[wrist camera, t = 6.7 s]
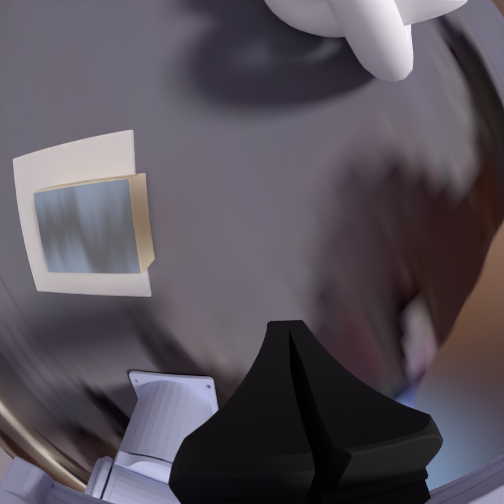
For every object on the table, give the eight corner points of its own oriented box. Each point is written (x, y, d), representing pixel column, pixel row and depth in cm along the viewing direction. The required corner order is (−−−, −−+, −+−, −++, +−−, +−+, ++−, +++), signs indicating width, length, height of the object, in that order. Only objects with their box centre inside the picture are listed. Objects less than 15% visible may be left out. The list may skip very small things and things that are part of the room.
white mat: (151, 294, 21) (150, 296, 21) (39, 289, 21) (37, 290, 21) (133, 129, 17) (131, 129, 17) (15, 158, 17) (12, 158, 17)
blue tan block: (141, 275, 17) (48, 273, 17) (154, 259, 20) (66, 260, 20) (128, 177, 15) (32, 192, 15) (145, 172, 18) (54, 185, 18)
